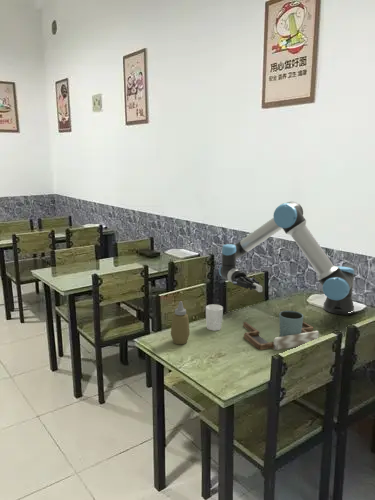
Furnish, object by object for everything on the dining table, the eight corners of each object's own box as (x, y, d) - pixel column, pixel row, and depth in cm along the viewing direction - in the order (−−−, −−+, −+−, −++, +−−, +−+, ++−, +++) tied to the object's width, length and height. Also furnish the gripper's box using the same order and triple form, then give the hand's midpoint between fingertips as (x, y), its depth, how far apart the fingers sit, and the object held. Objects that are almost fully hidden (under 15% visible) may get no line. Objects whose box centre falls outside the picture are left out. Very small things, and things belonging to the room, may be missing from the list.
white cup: (221, 332, 188) (222, 311, 186) (203, 330, 190) (204, 309, 188) (223, 325, 196) (224, 305, 194) (206, 323, 197) (207, 303, 195)
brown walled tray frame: (292, 319, 205) (293, 309, 204) (329, 340, 181) (330, 329, 180) (231, 327, 193) (232, 317, 192) (262, 352, 169) (263, 340, 168)
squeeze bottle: (167, 339, 179) (168, 299, 176) (185, 336, 182) (185, 297, 179) (174, 347, 172) (175, 305, 168) (192, 344, 175) (193, 303, 171)
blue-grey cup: (293, 348, 173) (296, 320, 171) (272, 340, 180) (274, 314, 178) (305, 340, 181) (308, 314, 178) (285, 333, 187) (286, 308, 185)
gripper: (247, 282, 224) (272, 295, 203) (226, 285, 220) (248, 298, 198) (248, 269, 223) (272, 280, 201) (226, 271, 218) (249, 283, 197)
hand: (261, 289), depth 200 cm, fingers closed
